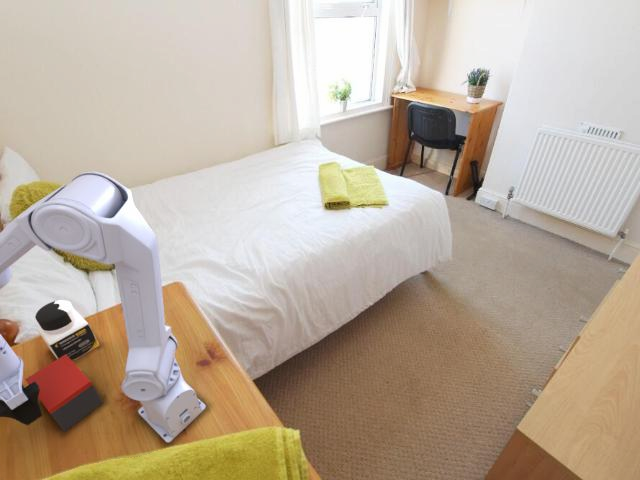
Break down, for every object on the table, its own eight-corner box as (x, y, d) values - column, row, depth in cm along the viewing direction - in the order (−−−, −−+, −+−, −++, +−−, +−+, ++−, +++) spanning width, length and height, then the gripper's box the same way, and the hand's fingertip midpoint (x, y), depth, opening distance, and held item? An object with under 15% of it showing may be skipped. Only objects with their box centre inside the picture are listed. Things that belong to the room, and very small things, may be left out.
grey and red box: (103, 403, 63) (90, 381, 59) (64, 432, 58) (47, 410, 55) (79, 375, 68) (65, 354, 64) (41, 400, 63) (24, 379, 59)
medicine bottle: (64, 367, 69) (37, 326, 63) (50, 350, 73) (24, 310, 66) (100, 345, 74) (79, 305, 67) (86, 330, 78) (64, 291, 71)
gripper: (-69, 347, 50) (-19, 400, 57) (-42, 400, 43) (11, 454, 50) (-10, 318, 55) (29, 371, 62) (24, 362, 47) (64, 416, 55)
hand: (25, 406), depth 56 cm, fingers open, 7 cm apart
